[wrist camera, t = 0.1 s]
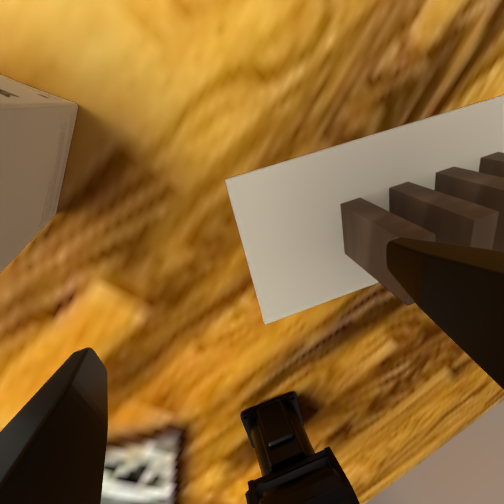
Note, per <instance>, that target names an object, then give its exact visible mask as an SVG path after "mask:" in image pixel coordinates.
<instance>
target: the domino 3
mask: <svg viewBox="0 0 504 504" xmlns="http://www.w3.org/2000/svg"><path fill="white" fill-rule="evenodd" d="M435 191H438V192H441V193H444V194H447V195H450V196H453V197H456V198H460V199H463V200H466V201H469V202H472V203H475V204H478V205H481V206H484V207H487V208H490V209H493V210H496V211H499V215H498V220H497V225H496V231H495V236H494V242H493V247H492V250H497V251H504V178H503V177H499V176H494V175H490V174H485V173H481V172H476V171H472V170H468V169H463V168H459V167H451V168H448V169H445V170H442V171H439V172H436V177H435Z"/></svg>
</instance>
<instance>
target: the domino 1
mask: <svg viewBox="0 0 504 504" xmlns="http://www.w3.org/2000/svg"><path fill="white" fill-rule="evenodd" d="M340 206H341V217H342V229H343V240H344V251H345V254H346V255H347V256H348V257H349V258H351V259H352V260H353V261H354V262H355V263H357V264H358V265H359V266H360V267H361V268H363V269H364V270H365V271H366V272H367V273H369V274H370V275H371V276H372V277H374V278H375V279H376V280H377V281H378V282H380V283H381V284H382V285H383V286H384V287H386V288H387V289H388V290H389V291H390V292H392V293H393V294H394V295H395V296H396V297H398V298H399V299H400V300H401V301H402V302H404V303H405V304H406V305H407V306H408V305H410V304H413V303H415V302H414V301H413V299H412V298H411V297H410V296H409V295H408V293H407V292H406V291H405V290H404V289H403V287H402V286H401V285H400V284H399V283H398V281H397V280H396V279H395V278H394V277H393V275H392V274H391V273H390V272H389V270H388V268H387V266H386V244H387V242H388V241H389V240H392V239H395V238H398V237H404V238H411V239H419V240H426V241H433V242H435V238H436V234H434V233H432V232H430V231H428V230H426V229H424V228H422V227H420V226H418V225H416V224H414V223H412V222H410V221H408V220H405V219H403V218H401V217H399V216H397V215H395V214H393V213H391V212H389V211H387V210H385V209H383V208H381V207H379V206H377V205H375V204H373V203H371V202H368V201H366V200H364V199H362V198H357V199H354V200H351V201H348V202H345V203H342V204H340Z"/></svg>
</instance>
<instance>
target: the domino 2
mask: <svg viewBox="0 0 504 504" xmlns="http://www.w3.org/2000/svg"><path fill="white" fill-rule="evenodd" d="M389 212H391V213H393V214H395V215H397V216H399V217H401V218H403V219H405V220H408V221H410V222H412V223H414V224H416V225H418V226H420V227H422V228H424V229H426V230H428V231H430V232H432V233H434V234H436V238H435V242H440V243H447V244H454V245H461V246H468V247H476V248H483V249H490V250H492V247H493V242H494V236H495V231H496V225H497V220H498V215H499V211H496V210H493V209H490V208H487V207H484V206H481V205H478V204H475V203H472V202H469V201H466V200H463V199H460V198H456V197H453V196H450V195H447V194H444V193H441V192H438V191H435V190H432V189H429V188H426V187H423V186H420V185H417V184H414V183H411V182H405V183H402V184H399V185H396V186H393V187H390V188H389Z"/></svg>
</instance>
